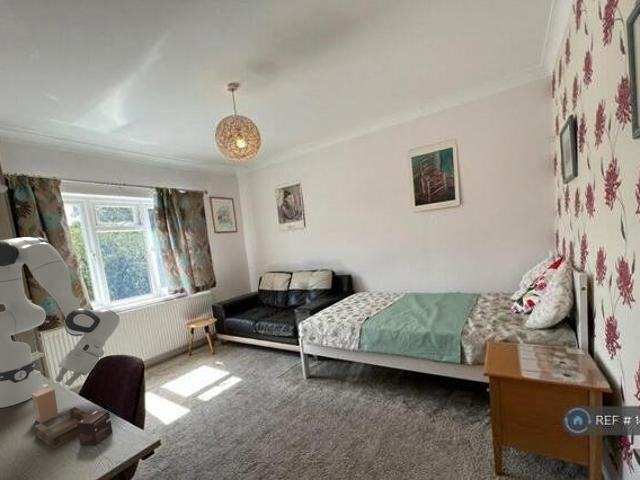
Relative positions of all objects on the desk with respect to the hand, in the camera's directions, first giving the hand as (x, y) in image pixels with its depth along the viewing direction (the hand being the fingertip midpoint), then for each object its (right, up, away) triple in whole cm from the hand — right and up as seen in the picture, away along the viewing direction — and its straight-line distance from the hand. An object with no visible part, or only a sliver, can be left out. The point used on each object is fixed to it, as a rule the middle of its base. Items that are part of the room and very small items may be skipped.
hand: (62, 383), depth 113 cm
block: (-2, -11, -4) cm, 12 cm away
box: (+29, -8, -21) cm, 37 cm away
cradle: (+14, -9, -15) cm, 22 cm away
